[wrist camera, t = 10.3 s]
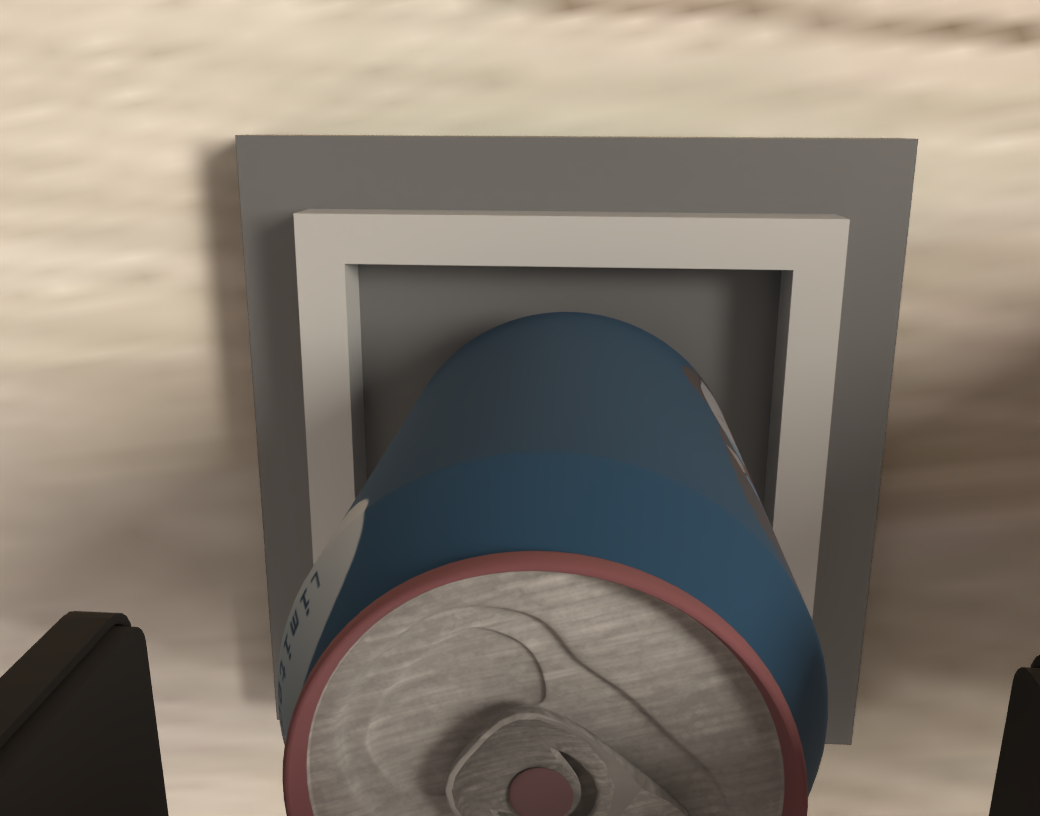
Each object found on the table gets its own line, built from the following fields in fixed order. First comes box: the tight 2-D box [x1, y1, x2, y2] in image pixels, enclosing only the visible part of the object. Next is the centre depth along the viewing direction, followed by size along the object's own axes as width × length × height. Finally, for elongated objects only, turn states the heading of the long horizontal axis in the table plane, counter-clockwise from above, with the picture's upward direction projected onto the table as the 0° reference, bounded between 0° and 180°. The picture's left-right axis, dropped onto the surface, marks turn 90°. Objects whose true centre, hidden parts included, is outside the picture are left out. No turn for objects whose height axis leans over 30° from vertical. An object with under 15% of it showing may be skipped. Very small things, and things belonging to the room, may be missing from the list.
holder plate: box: [235, 135, 918, 745], centre depth 22 cm, size 14×14×2 cm
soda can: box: [277, 312, 828, 816], centre depth 16 cm, size 7×7×12 cm
